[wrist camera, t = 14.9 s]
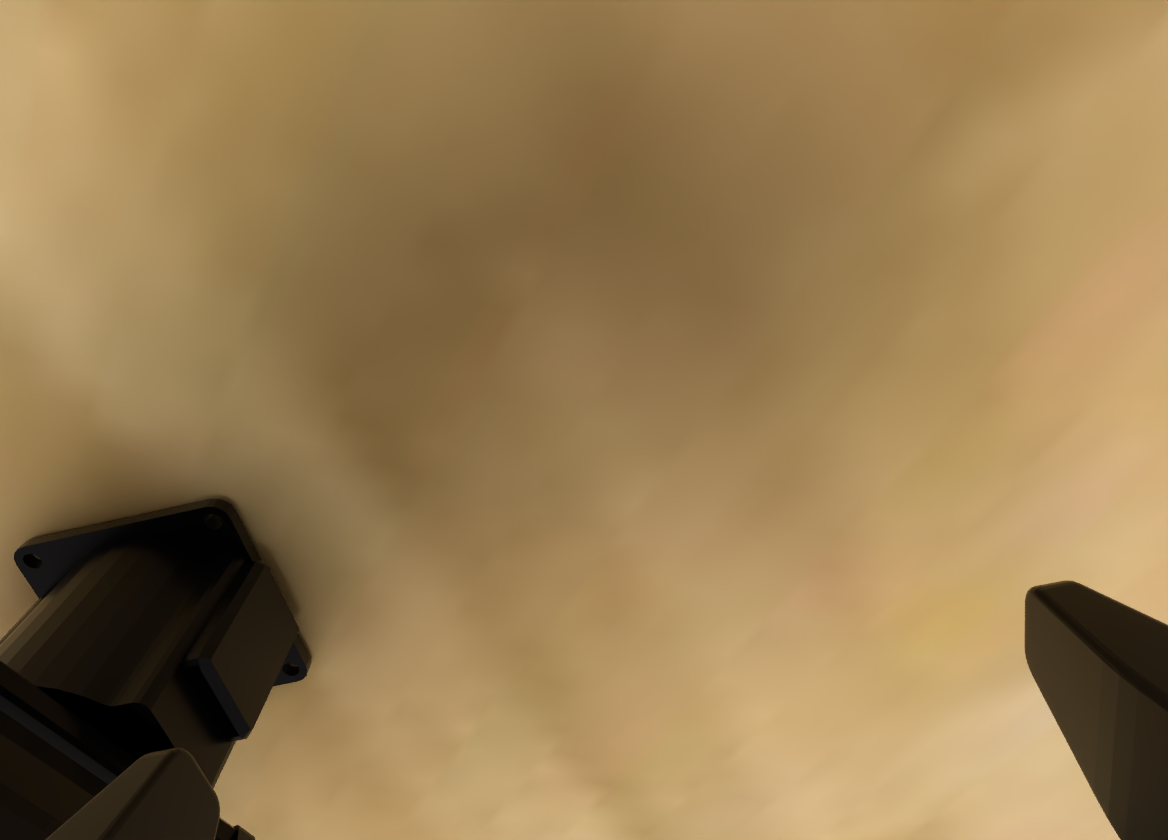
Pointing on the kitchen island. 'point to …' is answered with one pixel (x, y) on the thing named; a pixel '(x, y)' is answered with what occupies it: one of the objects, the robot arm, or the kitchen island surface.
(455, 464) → the kitchen island surface
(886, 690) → the kitchen island surface
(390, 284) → the kitchen island surface
